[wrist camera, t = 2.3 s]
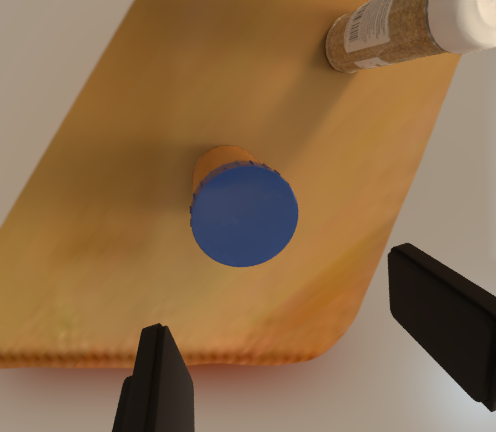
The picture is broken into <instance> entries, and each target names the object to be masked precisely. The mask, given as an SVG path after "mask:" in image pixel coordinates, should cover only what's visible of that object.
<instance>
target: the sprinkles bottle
mask: <svg viewBox="0 0 496 432" xmlns="http://www.w3.org/2000/svg"><path fill="white" fill-rule="evenodd" d="M325 47H326V55H327V58H328V60H329V62H330V64H331V66H332V67H333V68H335V69H336V70H337V71H340V72H343V73H354V72H357V71H359V70H362V69H371V68H376V67H381V66H386V65H391V64H396V63H401V62H406V61H410V60H413V59H416V58H422V57H426V56H431V55H436V54H442V53H446V52H448V53H454V54H464V53H470V52H475V51H480V50H485V49H490V48H494V47H496V0H370V1H368V2H366V3H365V4H363V5H362V6H360V7H359V8H358V9H356V10H354V11H353V12H351V13H346V14H344V15H342V16H340V17H339V18H338V19H337V20H336V21H335V22H334V23H333V25H332V26H331V28H330V30H329V32H328V34H327V38H326V44H325Z"/></svg>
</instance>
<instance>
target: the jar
mask: <svg viewBox="0 0 496 432" xmlns="http://www.w3.org/2000/svg"><path fill="white" fill-rule="evenodd" d="M235 160H238V161H250V160H252V161H253V162H257V163H260V162H259V161H257V160H256V159H255V158H254V157H253V156H252V155H250V154H249V153H248V152H247V151H245V150H243V149H241V148H239V147H235V146H219V147H216V148H213V149H211V150H209V151H208V152H206V153H205V154H204V155H203V156H202V157H201V158H200V159H199V161H198V162H197V164H196V166H195V168H194V171H193V177H192V184H193V193H195V191H196V189H197V187H198V186H199V184H200V183H199V182H200V181H202V180H203V179H204V178H205V177H206V176H207V175H208V174H209V172H210V171H213V170H214V169H216V168H218V167H220V166H222V164H227V163H230V162H235ZM260 164H261V163H260Z"/></svg>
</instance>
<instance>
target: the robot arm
mask: <svg viewBox="0 0 496 432" xmlns="http://www.w3.org/2000/svg"><path fill="white" fill-rule="evenodd" d="M388 275H389V295H390V296H389V297H390V310H391V313H392V315H393V317H394V318H395V319H396V320H397V321H398V323H399V324H400V325H401V326H403V328H404V329H405V330H406V331H407V332H408V333H409V334H410V335H411V336H412V337H413V338H414V339H415V340H416V341H417V342H418V343H419V344H420V345H421V346H422V347H423V348H424V349H425V350H426V351H427V352H428V353H429V355H431V357H432V358H433V359H434V360H435V361H436V362H437V363H438V364H439V365H440V366H441V367H442V368H443V369H444V370H445V371H446V372H447V373H448V374H449V375H450V376H451V377H452V378H453V379H454V380H455V381H456V382H457V383H458V384H459V385H460V386H461V388H463V390H464V391H465V392H467V394H468V395H469V396H470V397H471V398H473V400H475V401H477V402H482V403H483V404H484V405H485V406H486V407H487V408H488V409H489V410H490V411H491V412H493V411H495V410H496V297H495V296H494V295H492V294H491V293H489V292H487V291H486V290H484V289H483V288H481V287H479V286H478V285H476V284H474V283H473V282H471V281H469V280H468V279H466V278H465V277H463V276H462V275H460V274H458V273H457V272H455V271H454V270H452V269H450V268H449V267H447V266H445V265H444V264H442V263H441V262H439V261H438V260H436V259H434V258H433V257H431V256H430V255H428V254H426V253H425V252H423V251H421V250H420V249H418V248H417V247H415V246H413V245H412V244H410V243H405V244H402V245H399V246H395V247H393V248H392V249H391V252H390V253H389V254H388ZM112 432H194V389H193V382H192V379H191V376H190V374H189V372H188V370H187V367H186V365H185V363H184V361H183V359H182V356H181V354H180V352H179V350H178V348H177V345H176V343H175V341H174V339H173V337H172V334H171V332H170V330H169V328H168V326H163V327H162V325H161V324H160V323H158V324H155V325H152V326H149V327H146V328H143V329H142V332H141V336H140V341H139V346H138V351H137V356H136V361H135V366H134V371H133V375H132V376H129V377H127V378H126V379H125V380H124V383H123V386H122V390H121V395H120V399H119V403H118V408H117V412H116V416H115V421H114V425H113V429H112Z"/></svg>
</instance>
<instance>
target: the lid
mask: <svg viewBox="0 0 496 432" xmlns="http://www.w3.org/2000/svg"><path fill="white" fill-rule="evenodd" d="M199 183H200V184H199V186H198V187H197V189H196V191H195V193H193V199H192V204H191V206H190V214H191V219H190V226H191V227H192V231H193V235H194V237H195V240H196V242H197V243H198V245H199V247H200V248H201V249H202V250H203V251H204V252H205V253H206V254H207V255H208V256H209V257H211V258H212V259H213V260H215V261H217V262H219V263H222V264H224V265H228V266H233V267H248V266H254V265H258V264H261V263H263V262H266V261H268V260H270V259H271V258H273V257H274V256H276V255H277V254H278V253H279V252H281V251H282V250H283V249H284V248H285V246H286V245H287V244H288V243H289V241H290V239H291V238H292V236H293V234H294V232H295V229H296V226H297V221H298V204H297V200H296V197H295V194H294V192H293V190H292V189H291V187H290V186H289V183H287V182H286V181H285V180H284V179H283V178H282V177H281V176H280V174H279V173H278V172H277V171H275V170H274V171H273V170H272V169H270V168H269V167H268V166H267V165H265V164H264V163H263V164H260V163H257V162H253V161H252V160H250V161H238V160H235V162H230V163H227V164H222V166H220V167H218V168H216V169H214V170H213V171H210V172H209V174H208V175H207V176H206V177H205V178H204V179H203V180H202V181H200V182H199Z"/></svg>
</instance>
